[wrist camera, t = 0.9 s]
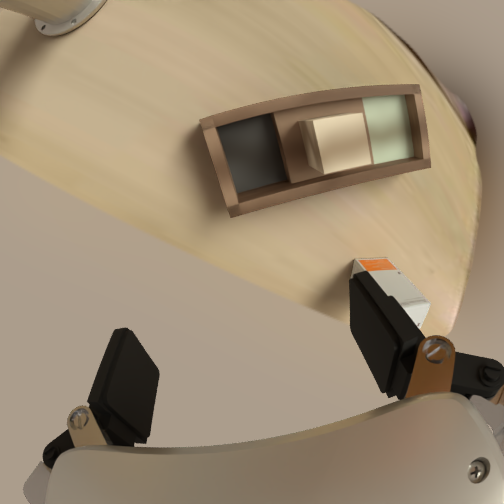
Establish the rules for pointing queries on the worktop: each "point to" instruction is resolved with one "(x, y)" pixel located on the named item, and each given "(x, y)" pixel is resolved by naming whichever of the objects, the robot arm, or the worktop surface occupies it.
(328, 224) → the worktop surface
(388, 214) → the worktop surface
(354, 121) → the birch block
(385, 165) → the channel
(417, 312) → the skincare box
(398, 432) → the robot arm
